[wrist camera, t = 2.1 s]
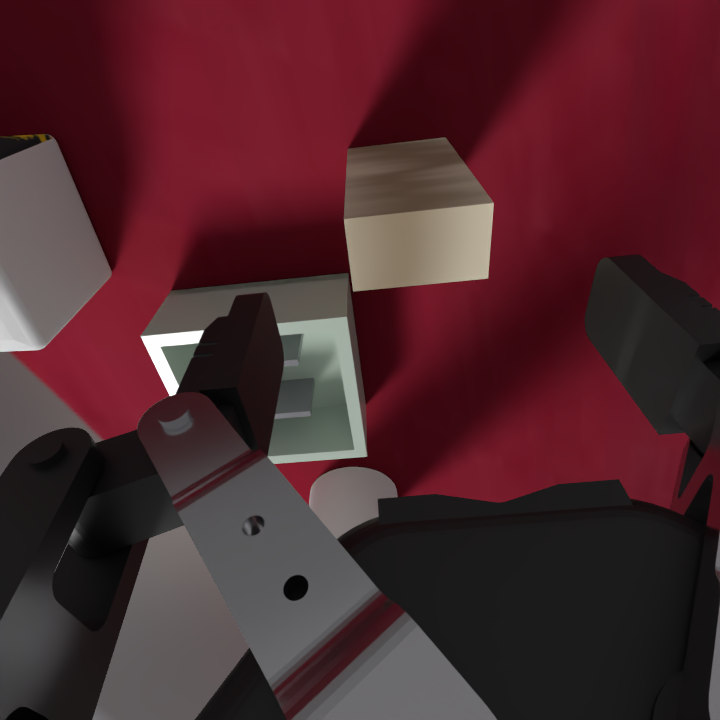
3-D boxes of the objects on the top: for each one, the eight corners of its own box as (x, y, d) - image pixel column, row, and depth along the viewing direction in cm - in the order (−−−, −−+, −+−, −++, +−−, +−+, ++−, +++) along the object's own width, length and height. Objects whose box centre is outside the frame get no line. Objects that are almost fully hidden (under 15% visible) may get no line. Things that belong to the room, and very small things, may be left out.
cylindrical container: (343, 454, 34) (325, 1079, 14) (415, 488, 36) (486, 1055, 17) (293, 500, 37) (223, 1052, 17) (362, 528, 40) (369, 1036, 20)
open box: (348, 272, 25) (346, 316, 21) (365, 405, 31) (367, 456, 27) (171, 290, 25) (140, 336, 22) (223, 416, 31) (206, 469, 28)
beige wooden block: (445, 137, 20) (493, 202, 13) (444, 192, 22) (488, 278, 15) (347, 148, 21) (343, 218, 14) (353, 202, 22) (353, 291, 15)
